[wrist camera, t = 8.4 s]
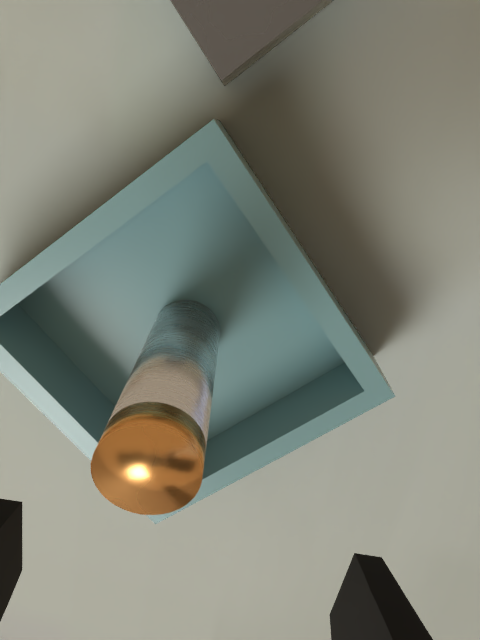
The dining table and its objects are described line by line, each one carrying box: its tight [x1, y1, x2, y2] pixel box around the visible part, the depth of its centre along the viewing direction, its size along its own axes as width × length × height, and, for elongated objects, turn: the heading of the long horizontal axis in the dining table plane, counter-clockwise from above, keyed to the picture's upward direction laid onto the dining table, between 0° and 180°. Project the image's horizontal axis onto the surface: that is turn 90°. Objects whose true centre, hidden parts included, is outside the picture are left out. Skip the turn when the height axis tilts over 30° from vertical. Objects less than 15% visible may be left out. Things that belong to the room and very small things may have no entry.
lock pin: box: [91, 300, 220, 515], centre depth 14 cm, size 3×3×8 cm
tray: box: [0, 119, 395, 524], centre depth 17 cm, size 11×11×3 cm
